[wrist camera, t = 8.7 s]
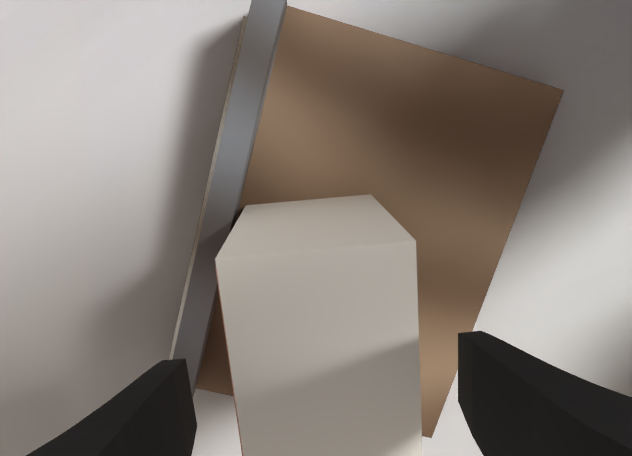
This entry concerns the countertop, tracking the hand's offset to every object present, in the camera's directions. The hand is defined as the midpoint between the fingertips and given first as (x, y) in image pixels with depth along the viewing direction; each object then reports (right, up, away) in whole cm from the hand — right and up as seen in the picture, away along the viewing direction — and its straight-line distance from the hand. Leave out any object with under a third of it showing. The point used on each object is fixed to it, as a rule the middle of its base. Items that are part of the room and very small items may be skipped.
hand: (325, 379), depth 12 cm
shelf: (+1, +4, +8) cm, 9 cm away
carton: (0, +2, +7) cm, 7 cm away
